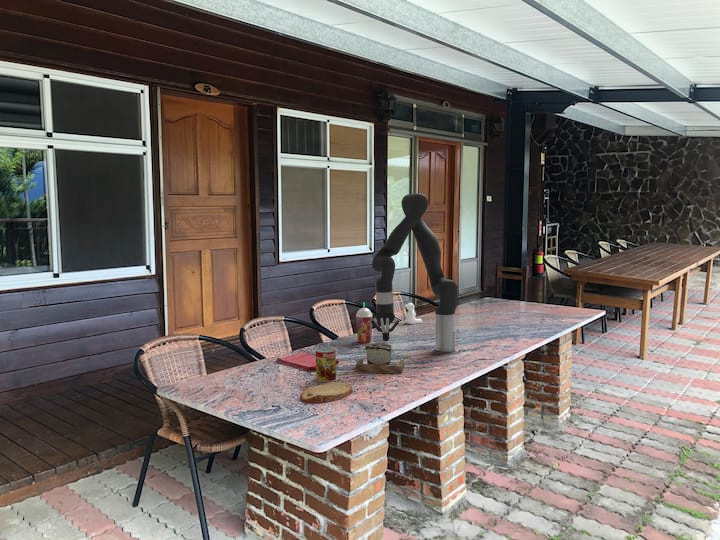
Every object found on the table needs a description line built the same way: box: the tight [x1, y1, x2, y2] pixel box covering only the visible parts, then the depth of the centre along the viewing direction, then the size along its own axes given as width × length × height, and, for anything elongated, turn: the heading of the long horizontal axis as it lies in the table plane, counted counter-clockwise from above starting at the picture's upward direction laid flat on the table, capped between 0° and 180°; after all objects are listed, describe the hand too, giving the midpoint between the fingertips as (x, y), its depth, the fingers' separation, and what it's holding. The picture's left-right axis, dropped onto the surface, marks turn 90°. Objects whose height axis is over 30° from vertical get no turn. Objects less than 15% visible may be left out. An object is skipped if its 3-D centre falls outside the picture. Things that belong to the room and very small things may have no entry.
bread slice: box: [299, 382, 354, 404], centre depth 218 cm, size 18×18×4 cm
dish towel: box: [275, 351, 340, 372], centre depth 261 cm, size 17×24×3 cm
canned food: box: [315, 346, 337, 383], centre depth 237 cm, size 8×8×12 cm
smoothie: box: [355, 302, 374, 344], centre depth 296 cm, size 8×8×20 cm
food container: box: [364, 342, 394, 365], centre depth 251 cm, size 12×6×10 cm, turn 66°
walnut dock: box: [354, 358, 405, 374], centre depth 249 cm, size 19×10×3 cm, turn 79°
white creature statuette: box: [404, 302, 423, 325], centre depth 340 cm, size 10×9×12 cm
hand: (386, 341), depth 261 cm, fingers closed
